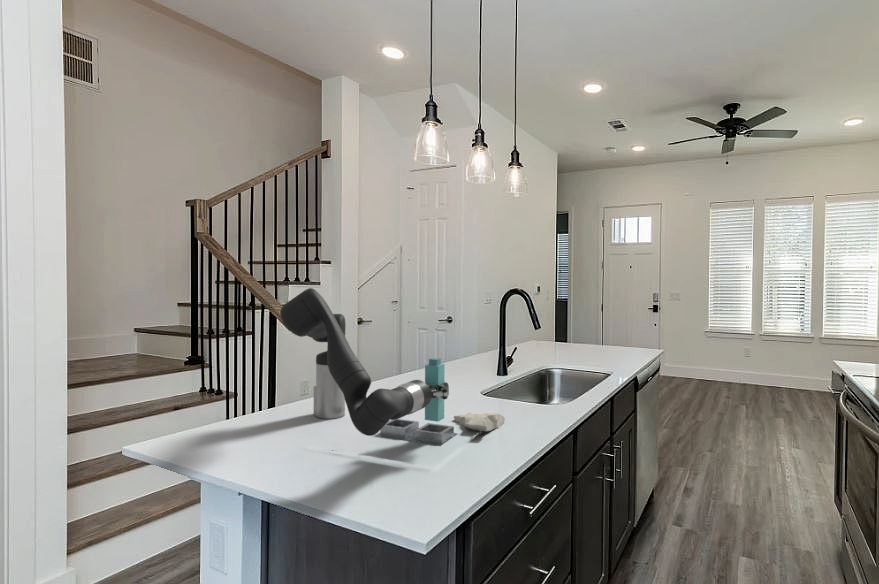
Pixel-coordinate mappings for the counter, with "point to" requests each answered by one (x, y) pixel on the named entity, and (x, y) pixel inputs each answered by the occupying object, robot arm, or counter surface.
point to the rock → (480, 421)
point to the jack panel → (417, 432)
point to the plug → (434, 376)
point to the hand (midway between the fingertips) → (438, 385)
